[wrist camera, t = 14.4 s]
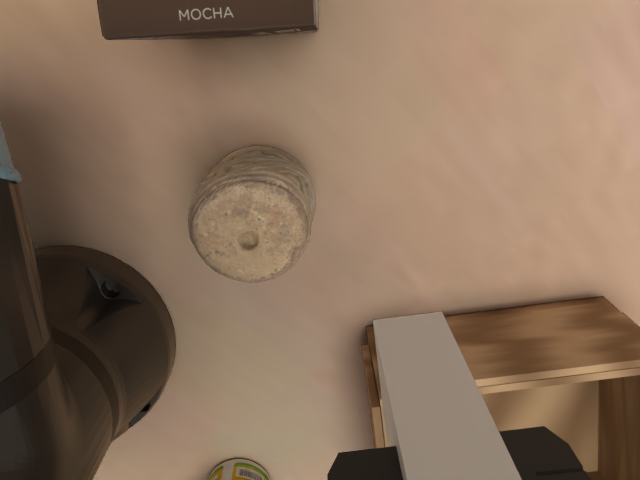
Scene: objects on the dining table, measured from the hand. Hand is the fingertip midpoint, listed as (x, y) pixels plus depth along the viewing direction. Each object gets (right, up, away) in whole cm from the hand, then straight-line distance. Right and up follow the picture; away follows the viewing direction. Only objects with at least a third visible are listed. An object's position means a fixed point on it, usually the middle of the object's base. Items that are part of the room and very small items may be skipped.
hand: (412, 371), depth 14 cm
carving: (-6, +7, +30) cm, 31 cm away
